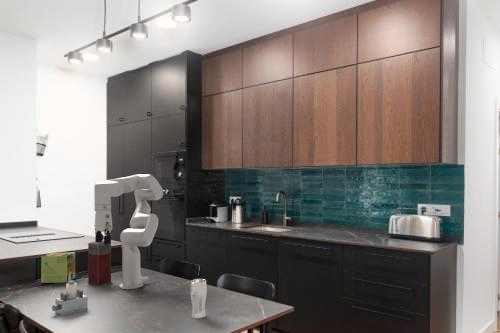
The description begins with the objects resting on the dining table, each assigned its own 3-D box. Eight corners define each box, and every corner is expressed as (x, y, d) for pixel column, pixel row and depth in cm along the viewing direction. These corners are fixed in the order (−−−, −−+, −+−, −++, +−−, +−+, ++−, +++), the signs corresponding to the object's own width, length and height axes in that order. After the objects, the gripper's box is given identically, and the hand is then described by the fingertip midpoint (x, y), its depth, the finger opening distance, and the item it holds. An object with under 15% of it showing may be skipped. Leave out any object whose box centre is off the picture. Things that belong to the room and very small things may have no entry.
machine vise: (80, 305, 181) (80, 287, 181) (87, 309, 175) (87, 290, 175) (49, 313, 171) (49, 293, 172) (56, 317, 166) (56, 297, 166)
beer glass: (191, 313, 168) (190, 278, 168) (207, 313, 168) (206, 278, 169) (190, 319, 161) (189, 283, 161) (206, 318, 161) (206, 282, 162)
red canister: (98, 279, 229) (98, 232, 230) (111, 281, 223) (111, 233, 224) (85, 283, 221) (85, 234, 222) (98, 285, 215) (97, 235, 216)
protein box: (67, 282, 223) (67, 255, 224) (40, 282, 224) (40, 255, 224) (75, 277, 234) (75, 252, 234) (50, 278, 234) (50, 252, 234)
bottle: (74, 295, 177) (74, 279, 178) (78, 297, 174) (78, 281, 175) (64, 297, 174) (64, 281, 175) (68, 299, 171) (68, 283, 171)
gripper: (118, 208, 185) (118, 243, 185) (102, 206, 198) (103, 240, 197) (102, 209, 180) (103, 246, 180) (87, 207, 192) (88, 242, 192)
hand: (103, 242), depth 188 cm, fingers open, 9 cm apart
